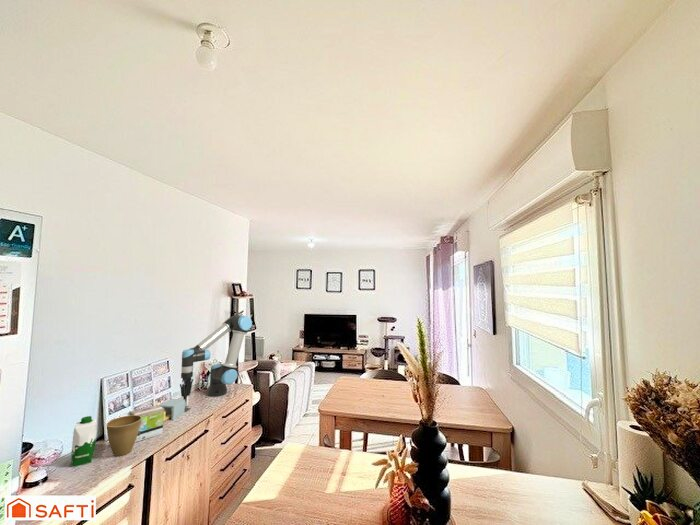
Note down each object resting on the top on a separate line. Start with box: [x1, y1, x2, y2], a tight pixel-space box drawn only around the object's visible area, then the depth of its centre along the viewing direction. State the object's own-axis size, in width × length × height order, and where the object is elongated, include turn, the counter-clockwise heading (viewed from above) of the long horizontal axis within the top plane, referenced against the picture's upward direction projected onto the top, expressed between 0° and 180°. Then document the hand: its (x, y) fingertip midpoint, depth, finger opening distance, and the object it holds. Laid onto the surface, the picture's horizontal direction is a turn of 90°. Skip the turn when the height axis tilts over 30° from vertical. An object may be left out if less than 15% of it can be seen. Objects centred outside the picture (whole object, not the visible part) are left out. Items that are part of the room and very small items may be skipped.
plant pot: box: [106, 415, 142, 457], centre depth 161 cm, size 15×15×16 cm
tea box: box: [128, 404, 164, 443], centre depth 179 cm, size 15×10×15 cm, turn 143°
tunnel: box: [158, 398, 192, 423], centre depth 208 cm, size 33×10×9 cm, turn 176°
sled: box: [163, 411, 172, 423], centre depth 203 cm, size 24×6×6 cm, turn 176°
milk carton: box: [71, 415, 98, 468], centre depth 152 cm, size 9×9×20 cm
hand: (185, 405), depth 222 cm, fingers closed
